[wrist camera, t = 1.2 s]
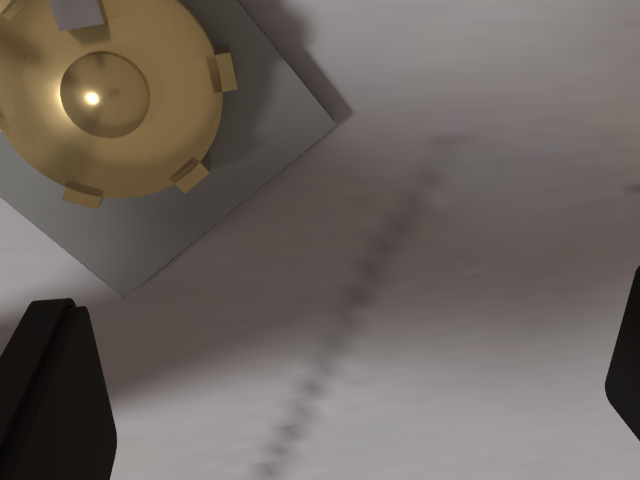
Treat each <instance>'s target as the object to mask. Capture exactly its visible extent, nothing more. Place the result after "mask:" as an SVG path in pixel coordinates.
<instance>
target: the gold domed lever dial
mask: <svg viewBox="0 0 640 480" xmlns="http://www.w3.org/2000/svg"><path fill="white" fill-rule="evenodd" d="M0 13H1V14H0V132H3V133H4V135H5V137H6V138H7V140H8V141H9V142H10V144H11V145H12V146H13V147H14V149H15V150H16V151H17V152H18V153H19V154H20V155H21V156H22V157H23V158H24V159H25V160H26V161H27V162H28V163H29V164H30V165H31V166H32V167H34V168H35V169H36V170H38V171H39V172H40V173H41V174H43V175H45V176H46V177H48V178H49V179H51V180H53V181H54V182H56V183H58V184H60V185H62V186H65V191H64V195H63V199H62V200H63V201H67V202H70V203H74V204H78V205H81V206H85V207H88V208H92V209H95V210H98V209H99V207H100V204H101V202H102V200H103V198H104V197H105V198H132V197H140V196H144V195H148V194H152V193H155V192H157V191H160V190H163V189H165V188H167V187H169V186H171V185H173V184H175V185H176V186H178V187H179V188H180V189H181V190H182V191H183V192H184V193H187V192H188V191H189V190H190V189H191V188H193V187H194V186H195V185H196V184H197V183H199V182H200V181H201V180H202V179H203V178H205V177H206V176H207V175H208V174H209V173H210V167H211V156H210V155H209V154H208V153H207V151H208V150H209V148H210V146H211V145H212V143H213V140H214V138H215V135H216V133H217V130H218V127H219V123H220V119H221V112H222V103H223V92H227V91H232V90H238V85H237V76H236V71H235V67H234V62H233V57H232V52H231V47H230V44H229V45H223V46H217V47H215V46H214V43H213V41H212V39H211V36H210V35H209V33H208V31H207V29H206V28H205V26H204V24H203V23H202V22H201V20H200V19H199V18H198V16H197V15H196V14H195V12H194V11H193V10H192V9H191V8H190V7H189V6H188V5H187V4H186V3H185V2H184V1H183V0H0Z"/></svg>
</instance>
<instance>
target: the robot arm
mask: <svg viewBox="0 0 640 480" xmlns="http://www.w3.org/2000/svg"><path fill="white" fill-rule="evenodd" d="M605 391H606V396H607V398H608V400H609V402H610V404H611V405H612V406H613V408H614V409H615V410H616V411H617V413H618V414H619V415H620V416H621V418H622V419H623V420H624V422H625V423H626V424H627V425H628V427H629V428H630V429H631V430H632V432H633V433H634V434H635V436H636V437H637V438H638V439H639V441H640V266H639V267H638V268H637V270H636V272H635V276H634V279H633V283H632V287H631V290H630V294H629V298H628V301H627V305H626V308H625V312H624V316H623V319H622V323H621V327H620V330H619V334H618V338H617V341H616V345H615V348H614V352H613V356H612V359H611V363H610V367H609V370H608V374H607V377H606V381H605ZM116 448H117V433H116V427H115V423H114V419H113V415H112V410H111V406H110V402H109V397H108V393H107V389H106V385H105V380H104V376H103V372H102V368H101V363H100V359H99V355H98V350H97V346H96V342H95V338H94V333H93V329H92V325H91V320H90V316H89V313H88V310H87V308H86V307H85V306H80V307H76V304H75V303H74V301H73V300H72V299H71V298H66V299H52V300H39V301H33V302H31V304H30V305H29V306H28V308H27V310H26V312H25V314H24V316H23V317H22V319H21V321H20V323H19V325H18V326H17V328H16V330H15V332H14V334H13V335H12V337H11V339H10V341H9V343H8V344H7V346H6V348H5V350H4V352H3V353H2V355H1V357H0V480H110V476H111V472H112V467H113V463H114V459H115V455H116Z"/></svg>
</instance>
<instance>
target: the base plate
mask: <svg viewBox="0 0 640 480" xmlns="http://www.w3.org/2000/svg"><path fill="white" fill-rule="evenodd" d="M183 1H184V2H185V3H186V4H187V5H188V6H189V7H190V8H191V9H192V10H193V11H194V12H195V14H196V15H197V16H198V18H199V19H200V20H201V22H202V23H203V24H204V26H205V28H206V29H207V31H208V33H209V35H210V36H211V39H212V41H213V43H214V46H215V47H217V46H223V45H229V44H230V47H231V52H232V57H233V62H234V67H235V71H236V76H237V85H238V90H232V91H227V92H223V103H222V112H221V119H220V123H219V127H218V130H217V133H216V135H215V138H214V140H213V143H212V145H211V146H210V148H209V150H208V151H207V153H208V154H209V155H210V156H211V167H210V173H209V174H208V175H207V176H206V177H205V178H203V179H202V180H201V181H200V182H199V183H197V184H196V185H195V186H194V187H193V188H191V189H190V190H189V191H188V192H187V193H184V192H183V191H182V190H181V189H180V188H179V187H178V186H176V185H175V184H173V185H171V186H169V187H167V188H165V189H163V190H160V191H157V192H155V193H152V194H148V195H144V196H140V197H132V198H105V197H104V198H103V200H102V202H101V204H100V207H99V209H98V210H95V209H92V208H88V207H85V206H81V205H78V204H74V203H70V202H67V201H63V200H62V199H63V195H64V191H65V186H62V185H60V184H58V183H56V182H54V181H53V180H51V179H49V178H48V177H46V176H45V175H43V174H41V173H40V172H39V171H38V170H36V169H35V168H34V167H32V166H31V165H30V164H29V163H28V162H27V161H26V160H25V159H24V158H23V157H22V156H21V155H20V154H19V153H18V152H17V151H16V150H15V149H14V147H13V146H12V145H11V144H10V142H9V141H8V140H7V138H6V137H5V135H4V133H3V132H0V197H1V198H2V199H3V200H5V201H6V202H7V203H8V204H9V205H11V206H12V207H13V208H14V209H16V210H17V211H18V212H19V213H20V214H22V215H23V216H24V217H25V218H27V219H28V220H29V221H30V222H31V223H33V224H34V225H35V226H36V227H37V228H39V229H40V230H41V231H42V232H44V233H45V234H46V235H47V236H48V237H50V238H51V239H52V240H53V241H55V242H56V243H57V244H58V245H59V246H61V247H62V248H63V249H64V250H66V251H67V252H68V253H69V254H70V255H72V256H73V257H74V258H75V259H77V260H78V261H79V262H80V263H81V264H83V265H84V266H85V267H86V268H87V269H89V270H90V271H91V272H92V273H94V274H95V275H96V276H97V277H98V278H100V279H101V280H102V281H103V282H105V283H106V284H107V285H108V286H109V287H111V288H112V289H113V290H114V291H116V292H117V293H118V294H119V295H120V296H122V297H123V298H125V297H126V296H128V295H129V294H130V293H131V292H133V291H134V290H135V289H136V288H137V287H139V286H140V285H141V284H142V283H144V282H145V281H146V280H147V279H148V278H150V277H151V276H152V275H153V274H155V273H156V272H157V271H158V270H160V269H161V268H162V267H163V266H164V265H166V264H167V263H168V262H169V261H171V260H172V259H173V258H174V257H176V256H177V255H178V254H179V253H180V252H182V251H183V250H184V249H185V248H187V247H188V246H189V245H190V244H191V243H193V242H194V241H195V240H196V239H198V238H199V237H200V236H201V235H203V234H204V233H205V232H206V231H207V230H209V229H210V228H211V227H212V226H214V225H215V224H216V223H217V222H218V221H220V220H221V219H222V218H223V217H225V216H226V215H227V214H228V213H230V212H231V211H232V210H233V209H234V208H236V207H237V206H238V205H239V204H241V203H242V202H243V201H244V200H246V199H247V198H248V197H249V196H250V195H252V194H253V193H254V192H255V191H257V190H258V189H259V188H260V187H261V186H263V185H264V184H265V183H266V182H268V181H269V180H270V179H271V178H273V177H274V176H275V175H276V174H277V173H279V172H280V171H281V170H282V169H284V168H285V167H286V166H287V165H289V164H290V163H291V162H292V161H293V160H295V159H296V158H297V157H298V156H300V155H301V154H302V153H303V152H304V151H306V150H307V149H308V148H309V147H311V146H312V145H313V144H314V143H316V142H317V141H318V140H319V139H320V138H322V137H323V136H324V135H325V134H327V133H328V132H329V131H330V130H331V129H333V128H334V127H335V126H336V123H335V121H334V120H333V118H332V117H331V116H330V115H329V113H328V112H327V111H326V110H325V108H324V107H323V106H322V105H321V103H320V102H319V101H318V100H317V98H316V97H315V96H314V95H313V93H312V92H311V91H310V90H309V88H308V87H307V86H306V85H305V84H304V82H303V81H302V80H301V79H300V77H299V76H298V75H297V74H296V72H295V71H294V70H293V69H292V67H291V66H290V65H289V64H288V62H287V61H286V60H285V59H284V57H283V56H282V55H281V54H280V52H279V51H278V50H277V49H276V47H275V46H274V45H273V44H272V42H271V41H270V40H269V39H268V38H267V36H266V35H265V34H264V33H263V31H262V30H261V29H260V28H259V26H258V25H257V24H256V23H255V21H254V20H253V19H252V18H251V16H250V15H249V14H248V13H247V11H246V10H245V9H244V8H243V6H242V5H241V4H240V3H239V1H238V0H183ZM0 14H1V13H0Z"/></svg>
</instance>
